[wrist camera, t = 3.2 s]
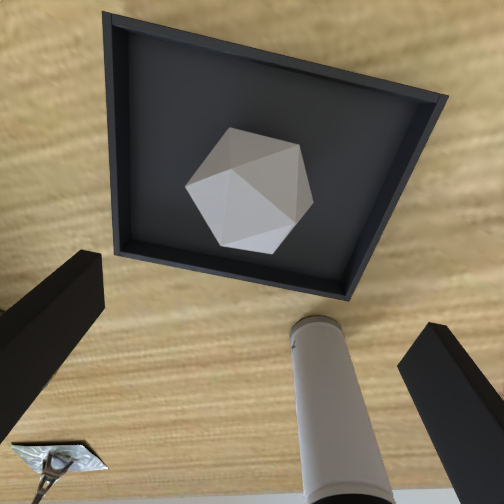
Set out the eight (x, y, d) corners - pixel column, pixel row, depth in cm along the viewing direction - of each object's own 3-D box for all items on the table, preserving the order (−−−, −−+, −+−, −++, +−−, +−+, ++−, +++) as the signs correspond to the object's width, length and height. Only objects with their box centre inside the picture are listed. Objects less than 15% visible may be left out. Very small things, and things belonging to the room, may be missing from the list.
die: (223, 233, 28) (286, 292, 22) (150, 184, 22) (208, 248, 15) (276, 165, 28) (357, 205, 21) (217, 94, 21) (309, 118, 14)
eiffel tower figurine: (85, 440, 49) (28, 547, 38) (108, 468, 54) (64, 570, 43) (10, 443, 51) (-66, 545, 40) (39, 470, 56) (-21, 568, 45)
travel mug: (277, 332, 34) (286, 579, 17) (322, 306, 32) (387, 561, 14) (307, 360, 36) (343, 604, 19) (352, 337, 34) (440, 592, 17)
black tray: (127, 241, 29) (113, 255, 26) (122, 20, 20) (101, 10, 18) (342, 284, 30) (349, 301, 28) (428, 95, 21) (449, 95, 19)
